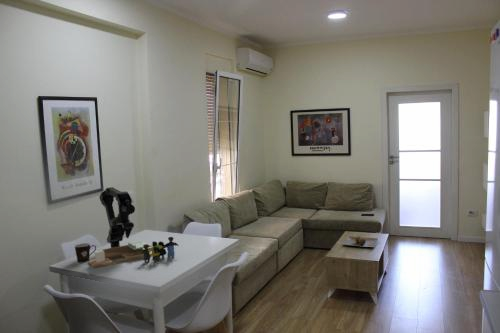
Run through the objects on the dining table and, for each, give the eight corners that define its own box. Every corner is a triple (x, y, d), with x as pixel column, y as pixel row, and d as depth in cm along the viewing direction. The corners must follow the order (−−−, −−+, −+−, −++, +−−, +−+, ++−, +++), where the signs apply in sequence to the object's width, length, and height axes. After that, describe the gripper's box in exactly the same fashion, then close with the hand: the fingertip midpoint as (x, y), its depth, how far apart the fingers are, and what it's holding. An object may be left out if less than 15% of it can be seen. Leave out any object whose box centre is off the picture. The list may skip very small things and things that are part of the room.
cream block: (95, 260, 245) (94, 251, 245) (102, 259, 248) (102, 250, 247) (97, 262, 242) (96, 253, 241) (104, 260, 244) (104, 251, 244)
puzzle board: (88, 263, 247) (87, 252, 247) (144, 252, 267) (143, 241, 266) (94, 269, 237) (93, 257, 236) (151, 257, 256) (150, 246, 255)
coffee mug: (74, 264, 248) (73, 247, 247) (77, 260, 256) (76, 244, 255) (94, 262, 250) (93, 245, 249) (97, 258, 258) (96, 242, 257)
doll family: (171, 254, 261) (170, 233, 260) (180, 256, 255) (179, 235, 254) (139, 264, 243) (138, 241, 242) (149, 266, 237) (147, 243, 236)
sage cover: (128, 246, 259) (128, 242, 259) (145, 243, 265) (145, 239, 265) (134, 249, 250) (133, 245, 250) (151, 246, 257) (151, 242, 256)
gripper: (106, 211, 263) (107, 236, 264) (115, 216, 247) (116, 241, 248) (123, 209, 269) (125, 233, 270) (133, 213, 253) (134, 238, 255)
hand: (125, 236), depth 261 cm, fingers open, 9 cm apart
